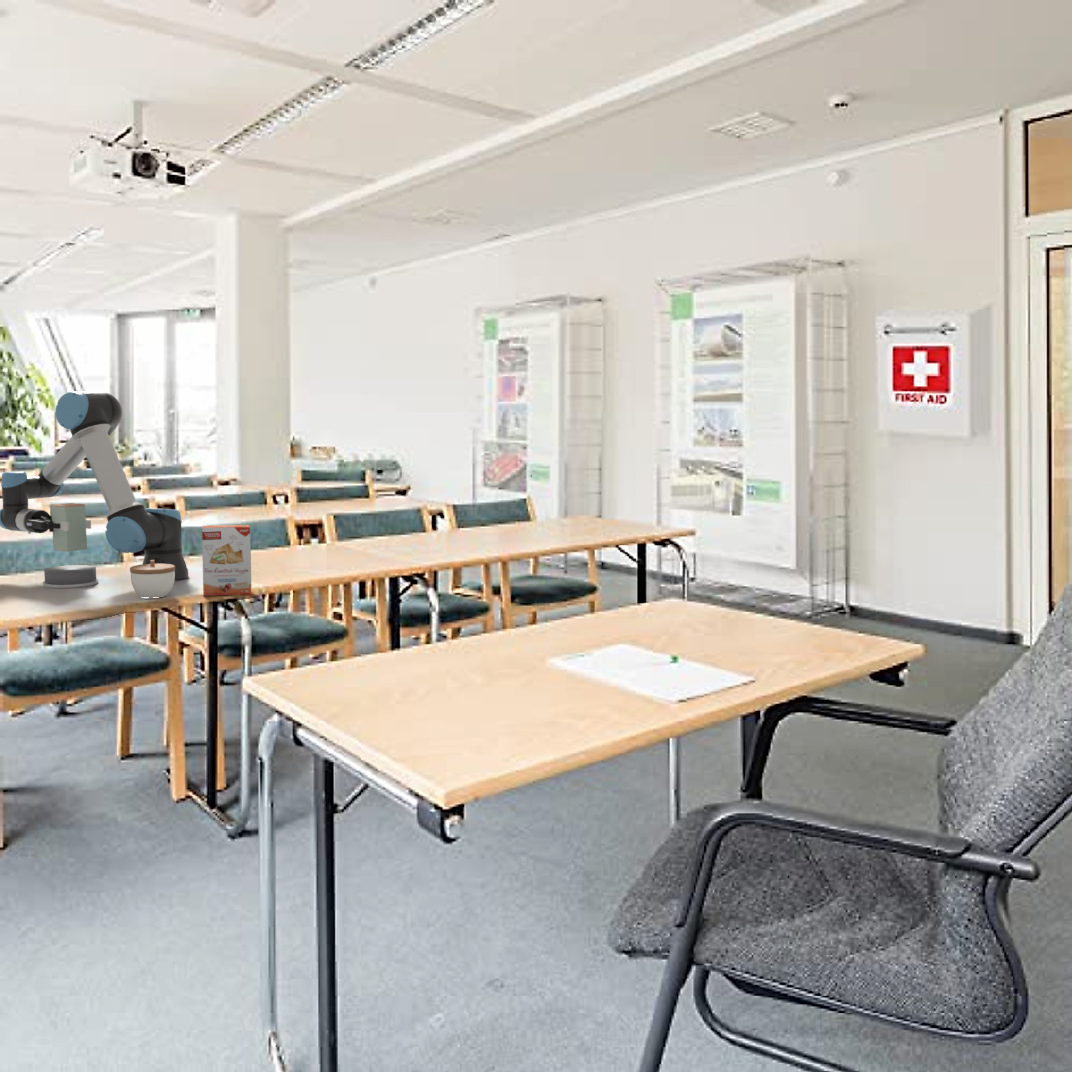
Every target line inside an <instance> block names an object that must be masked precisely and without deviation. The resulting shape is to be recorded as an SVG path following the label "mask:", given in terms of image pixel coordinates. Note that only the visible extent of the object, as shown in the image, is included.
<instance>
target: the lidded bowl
mask: <svg viewBox="0 0 1072 1072" xmlns="http://www.w3.org/2000/svg"><path fill="white" fill-rule="evenodd" d="M129 572H130V581H131V585H132V588H133V590H134V592H135V593H136V594H137V595H138V596H140V598H141V597H149V598H153V597H163V596H166V595H168V594H169V593H170V592H171V591H172V589H173V587H174V585H175V584H174V583H175V581H176V580H175V566H174V565H172V564H155V560H150V564H143V563H142V564H137V565H133V566H131V567H129ZM166 597H167V596H166Z"/></svg>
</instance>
